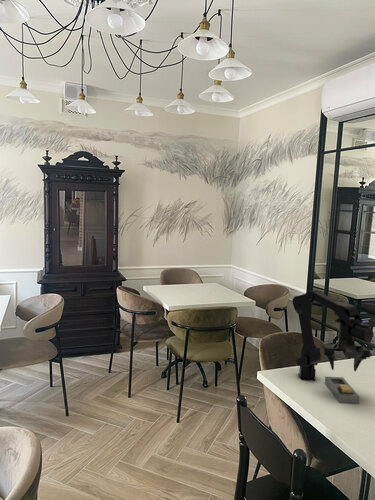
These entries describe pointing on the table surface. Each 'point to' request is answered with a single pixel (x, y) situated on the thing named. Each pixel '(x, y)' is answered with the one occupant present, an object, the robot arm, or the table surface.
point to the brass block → (345, 389)
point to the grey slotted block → (334, 388)
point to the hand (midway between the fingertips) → (343, 370)
